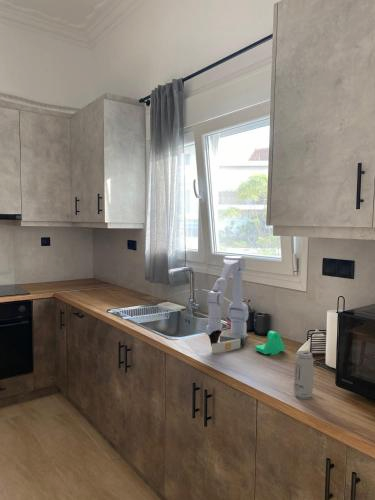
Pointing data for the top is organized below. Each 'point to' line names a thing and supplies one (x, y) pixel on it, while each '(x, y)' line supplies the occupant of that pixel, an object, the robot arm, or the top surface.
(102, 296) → the top surface
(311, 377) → the energy drink can
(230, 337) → the block
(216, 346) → the door
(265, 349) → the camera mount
